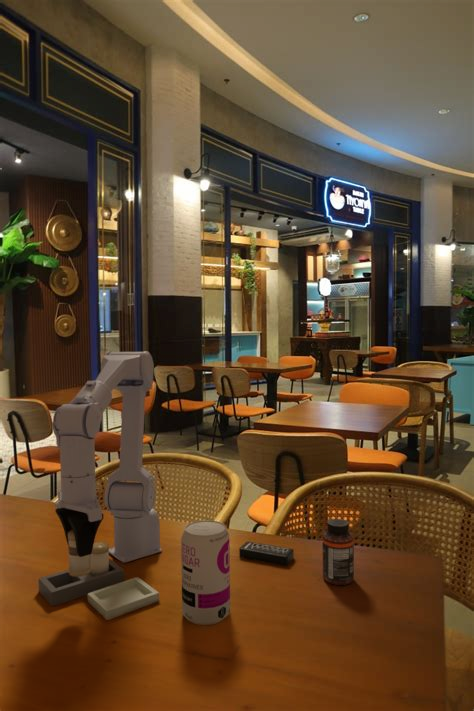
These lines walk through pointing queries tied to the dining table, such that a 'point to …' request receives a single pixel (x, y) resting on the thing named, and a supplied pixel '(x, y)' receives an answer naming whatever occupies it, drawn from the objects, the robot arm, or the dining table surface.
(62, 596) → the block
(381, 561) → the dining table surface
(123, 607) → the parts tray
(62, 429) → the robot arm
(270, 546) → the multiport hub
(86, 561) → the fuse
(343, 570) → the supplement bottle
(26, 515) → the dining table surface
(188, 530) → the supplement can
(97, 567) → the cylinder
